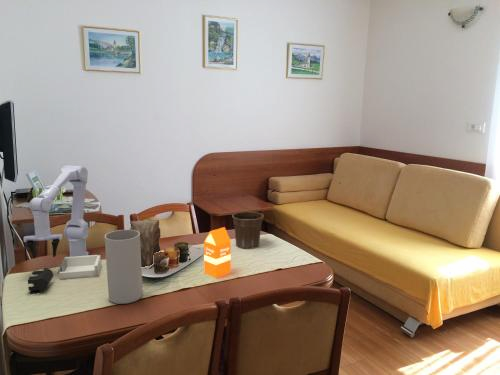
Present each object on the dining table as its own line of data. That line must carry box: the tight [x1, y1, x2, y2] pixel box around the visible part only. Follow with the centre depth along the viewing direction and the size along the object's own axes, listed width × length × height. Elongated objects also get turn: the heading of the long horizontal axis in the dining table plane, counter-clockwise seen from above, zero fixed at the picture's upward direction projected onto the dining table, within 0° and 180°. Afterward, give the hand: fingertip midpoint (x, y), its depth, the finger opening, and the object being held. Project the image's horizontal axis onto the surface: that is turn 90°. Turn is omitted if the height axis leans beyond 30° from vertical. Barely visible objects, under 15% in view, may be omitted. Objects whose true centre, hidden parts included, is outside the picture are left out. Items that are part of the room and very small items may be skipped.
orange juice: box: [203, 226, 232, 279], centre depth 180 cm, size 8×9×20 cm
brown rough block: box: [129, 218, 161, 267], centre depth 191 cm, size 13×13×20 cm
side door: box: [57, 258, 67, 274], centre depth 179 cm, size 10×2×4 cm, turn 14°
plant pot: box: [231, 211, 264, 250], centre depth 216 cm, size 16×16×16 cm
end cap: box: [27, 267, 54, 295], centre depth 165 cm, size 10×7×7 cm
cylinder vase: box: [104, 229, 144, 305], centre depth 157 cm, size 12×12×25 cm
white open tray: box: [59, 254, 102, 281], centre depth 181 cm, size 13×15×5 cm
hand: (44, 256), depth 176 cm, fingers open, 7 cm apart
